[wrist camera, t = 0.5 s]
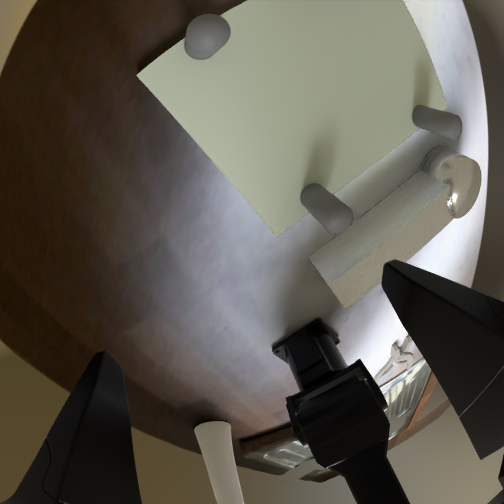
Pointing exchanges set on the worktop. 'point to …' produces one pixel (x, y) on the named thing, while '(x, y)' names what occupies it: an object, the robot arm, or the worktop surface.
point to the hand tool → (266, 442)
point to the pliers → (397, 358)
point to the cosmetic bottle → (220, 461)
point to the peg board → (301, 98)
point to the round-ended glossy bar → (399, 224)
